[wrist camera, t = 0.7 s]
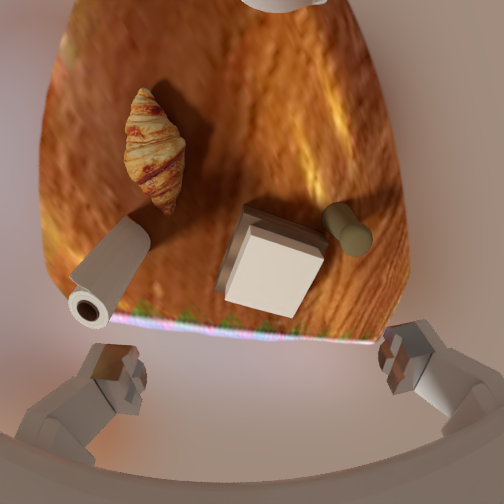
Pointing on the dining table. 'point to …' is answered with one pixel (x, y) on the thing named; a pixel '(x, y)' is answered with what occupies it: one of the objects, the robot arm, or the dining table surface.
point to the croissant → (154, 152)
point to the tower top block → (272, 272)
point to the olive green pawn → (347, 229)
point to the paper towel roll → (107, 273)
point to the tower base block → (270, 224)
